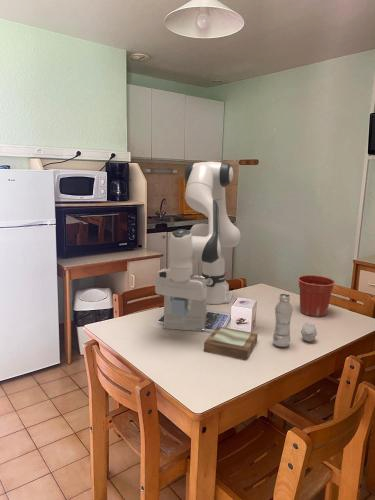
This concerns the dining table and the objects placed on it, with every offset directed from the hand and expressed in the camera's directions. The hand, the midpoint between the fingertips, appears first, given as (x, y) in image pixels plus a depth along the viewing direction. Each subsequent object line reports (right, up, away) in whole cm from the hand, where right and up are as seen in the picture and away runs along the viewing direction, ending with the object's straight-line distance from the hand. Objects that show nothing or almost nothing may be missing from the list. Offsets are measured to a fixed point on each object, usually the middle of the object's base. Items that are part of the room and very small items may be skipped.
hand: (180, 308), depth 145 cm
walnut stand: (+19, -14, -3) cm, 24 cm away
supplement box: (+2, -10, +17) cm, 20 cm away
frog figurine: (+50, -14, +4) cm, 52 cm away
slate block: (0, -2, 0) cm, 2 cm away
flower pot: (+62, -8, +34) cm, 71 cm away
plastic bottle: (+38, -14, -1) cm, 41 cm away
